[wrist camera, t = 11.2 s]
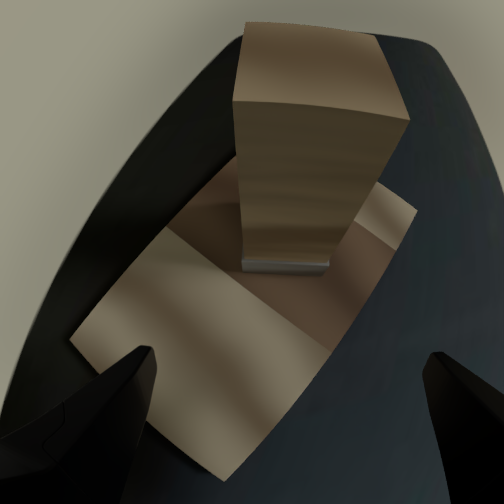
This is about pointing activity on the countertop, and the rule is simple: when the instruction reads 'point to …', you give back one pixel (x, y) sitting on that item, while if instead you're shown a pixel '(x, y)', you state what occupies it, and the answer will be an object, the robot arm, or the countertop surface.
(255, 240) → the tall wooden post
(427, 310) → the countertop surface
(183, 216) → the subfloor panel
